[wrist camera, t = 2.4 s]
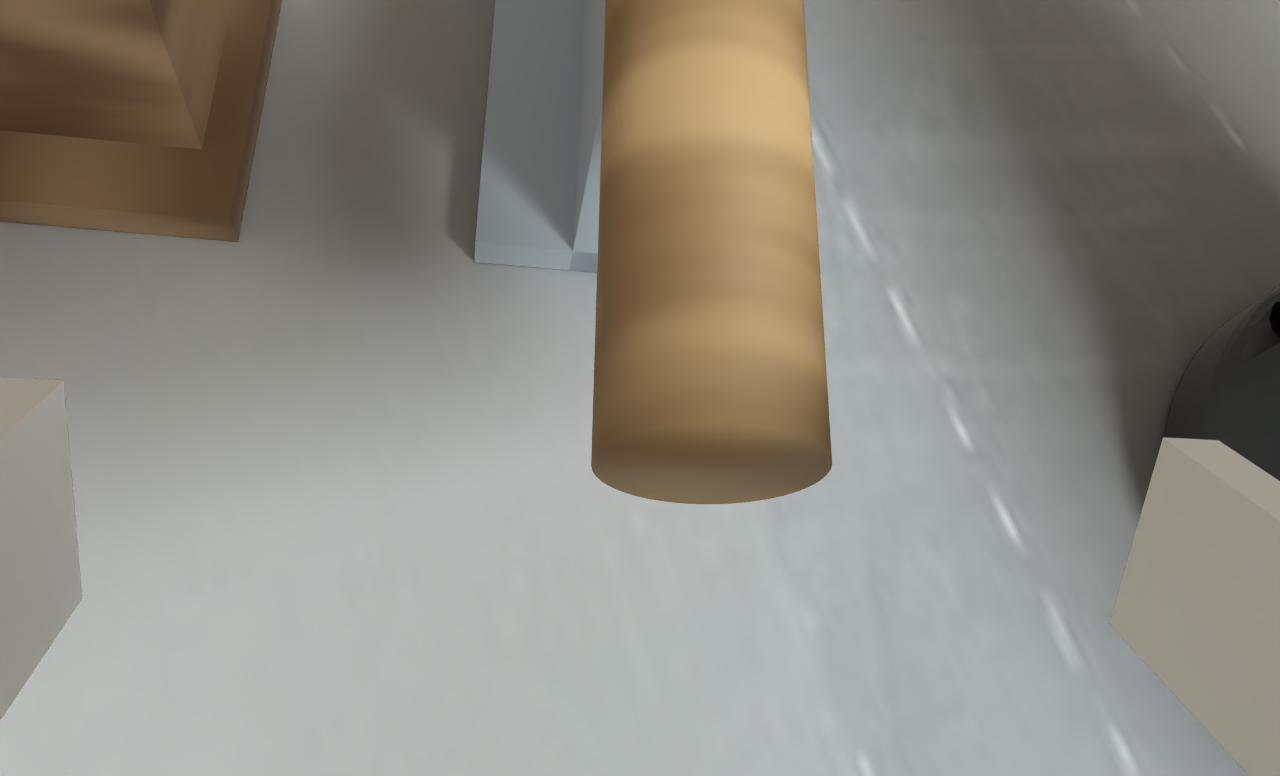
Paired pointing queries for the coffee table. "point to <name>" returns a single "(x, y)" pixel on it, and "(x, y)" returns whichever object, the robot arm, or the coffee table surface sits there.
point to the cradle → (543, 136)
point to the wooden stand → (132, 112)
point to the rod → (708, 256)
